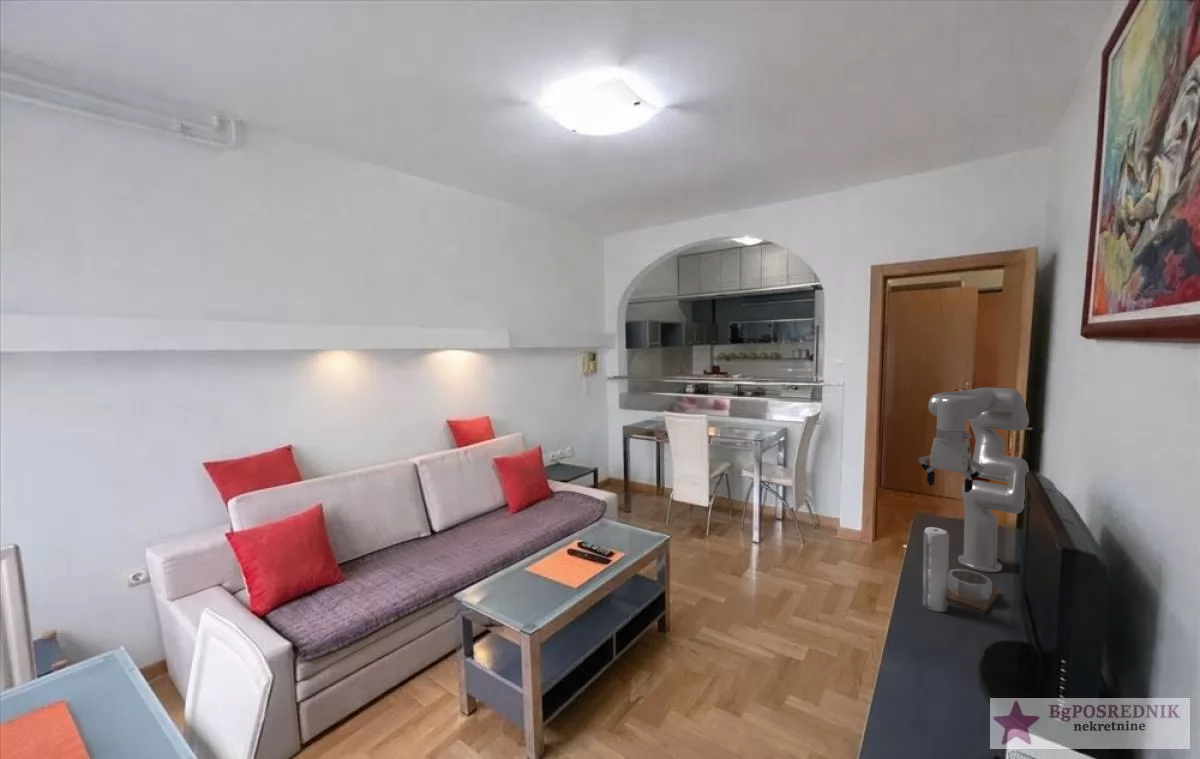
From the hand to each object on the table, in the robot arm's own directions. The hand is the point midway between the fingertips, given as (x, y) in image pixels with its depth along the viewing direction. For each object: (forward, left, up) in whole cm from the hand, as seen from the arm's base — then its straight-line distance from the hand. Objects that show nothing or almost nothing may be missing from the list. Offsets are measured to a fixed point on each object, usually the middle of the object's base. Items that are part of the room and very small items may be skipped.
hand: (949, 488), depth 150 cm
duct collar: (-6, +5, -37) cm, 37 cm away
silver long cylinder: (+9, 0, -37) cm, 38 cm away
